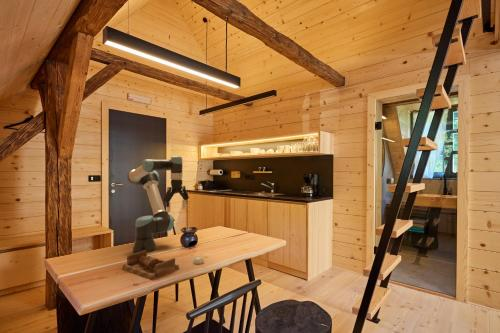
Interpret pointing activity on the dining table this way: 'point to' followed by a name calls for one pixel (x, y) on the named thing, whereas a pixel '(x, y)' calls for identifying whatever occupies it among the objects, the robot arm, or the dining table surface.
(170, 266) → the cradle
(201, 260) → the beige round lump
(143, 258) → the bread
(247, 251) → the dining table surface
